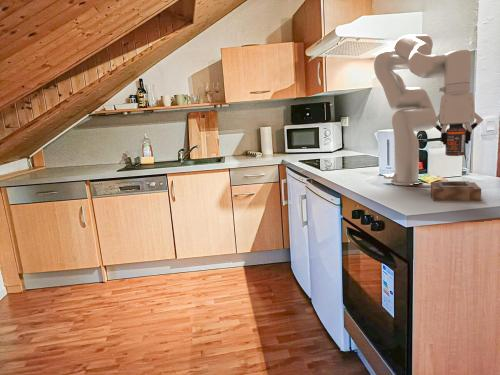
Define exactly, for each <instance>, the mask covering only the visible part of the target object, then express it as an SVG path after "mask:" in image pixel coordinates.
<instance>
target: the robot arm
mask: <svg viewBox="0 0 500 375" xmlns="http://www.w3.org/2000/svg"><path fill="white" fill-rule="evenodd" d="M433 44H434V42H433V39H432V38H431V37H430V35H428V34H407V35H403V36H401V37H399V38H398V39H396V41H394V45H393V49H387V50H382V51H380V52H379V53H378V54H376V55H375V58H374V62H373V69H374V70H373V71H374V73H375V77H376V78H377V80H378V81H379V84H380V85H381V86H382V89H383V92H384V95H385V97H386V100H387V103H388V105H389V107H390V109H391V110H392V111H395V112H394V113H393V114H392V118H391V126H392V130H393V136H394V137H393V140H394V172H393V173H391V174H389V173H387V174H386V173H385V174H383V179H386V180H390V183H391V184H392V185H395V186H411V185H410V184H415V183H419V182H417V181H418V179H420V176H419V175H420V174H419V172H420V171H419V167H420V163H419V162H420V160H419V159H420V144H419V138H418V137H417V135H416V133H415V132H421V131H430V130H432V129H434V128H436V130H437V131H439V132H440V143H442V144H443V145H445V146H446V130H447V129H448V126H449V124H463V126H464V128H465V129H466V141H465V145H468V144H469V142H471V140H472V138H471V137H472V131H473V130H474V129H476V127H477V126H479V125H480V124H481V123H482V122H483V120H484V119H483V118H482V117H481V116H480V115H478V114H477V112H476V111H475V98H474V97H475V96H474V93H473V92H471V77H472V76H471V75H472V73H471V72H472V70H471V69H472V51H470V50H469V49H459V50H453V51H449V52H447V53H445V54H432V50H433ZM396 70H397V71H398V70H409V71H410V73H412V74H413V75H415V76H417V77H418V78H422V79H431V78H432V79H433V78H444V79H443V82H444V85H443V86H442V87H439V93H440V92H441V93H443V95H441V96H440V97H441V98H440V104H439V112H438V114H436V109H435V108H434V106H433V103H432V101H431V99H430V96H429V94H428V93H427V91H426V90H425V89H424V88H423V87H419V86H418V87H413V86H412V87H408V86H406V85H405V83H404V80H403V78H402V77H401V76H400V75H399V74H398V73H397V72H395V71H396ZM437 122H439V124H442V125H441V126H440V125H439V124H438V123H437Z"/></svg>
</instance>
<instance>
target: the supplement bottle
mask: <svg viewBox="0 0 500 375" xmlns="http://www.w3.org/2000/svg"><path fill="white" fill-rule="evenodd" d="M448 126H449V127H448V128H446V130H445V131H446V145H445V150H444V151H445V153H444V154H445V156H448V157H449V156H450V157H460V156H461V157H462V156H464V155H465V154H466V143H465V141H466V127H464V124H449V125H448Z"/></svg>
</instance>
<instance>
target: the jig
mask: <svg viewBox="0 0 500 375" xmlns="http://www.w3.org/2000/svg"><path fill="white" fill-rule="evenodd" d="M430 195H431V198H432V201H451V202H452V201H456V202H457V201H463V202H464V201H469V202H470V201H471V202H473V201H475V202H481V200H482V188H481V187H480V186H479V185H478V184H477V183H476V182H473V181H472V182H471V181H468V180H466V181H465V180H463V181H462V180H454V181H453V180H451V181H450V180H449V181H448V180H445V181H443V180H442V181H441V180H440V181H438V180H437V181H436V182H434V181H433V182H432V181H431V182H430Z"/></svg>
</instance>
